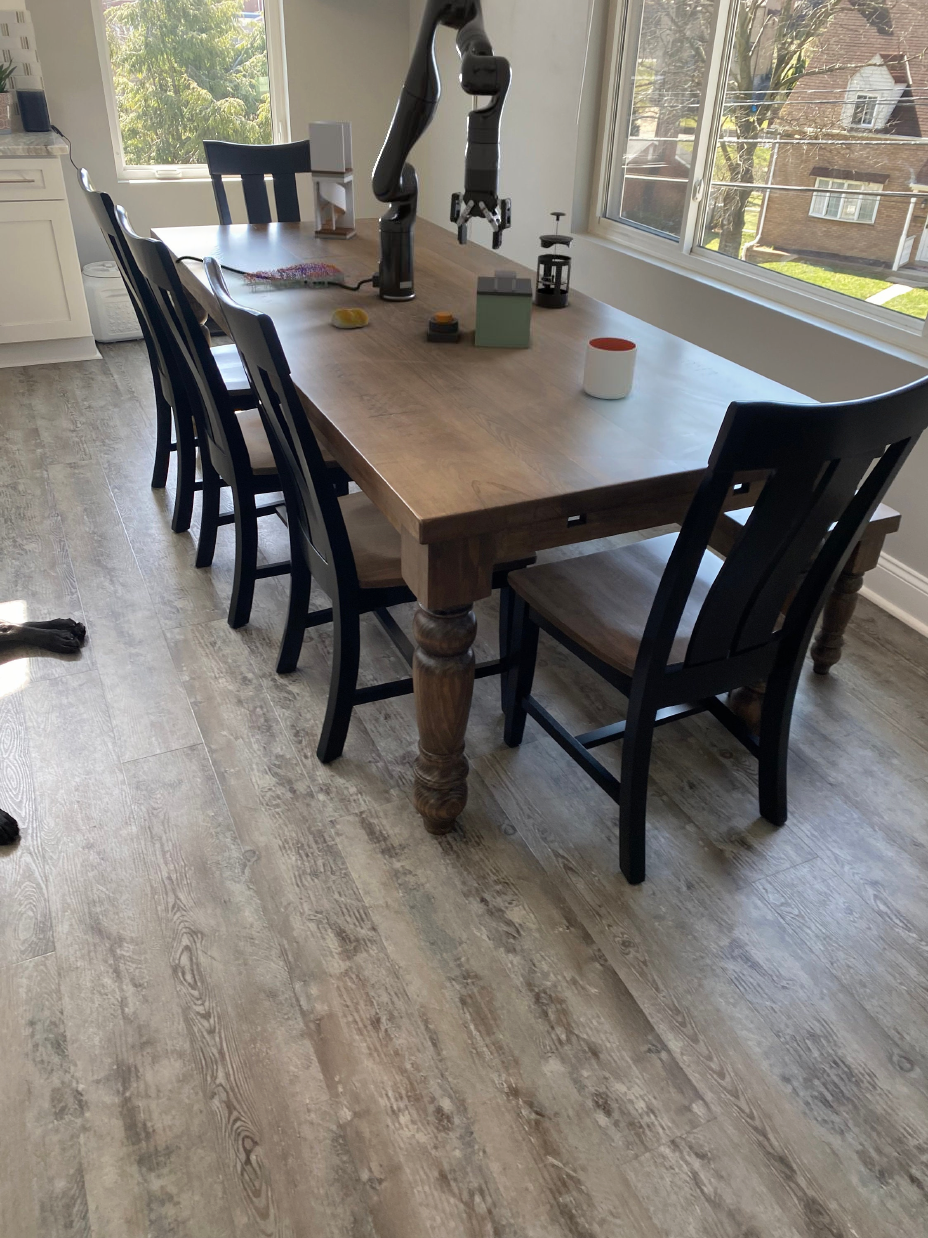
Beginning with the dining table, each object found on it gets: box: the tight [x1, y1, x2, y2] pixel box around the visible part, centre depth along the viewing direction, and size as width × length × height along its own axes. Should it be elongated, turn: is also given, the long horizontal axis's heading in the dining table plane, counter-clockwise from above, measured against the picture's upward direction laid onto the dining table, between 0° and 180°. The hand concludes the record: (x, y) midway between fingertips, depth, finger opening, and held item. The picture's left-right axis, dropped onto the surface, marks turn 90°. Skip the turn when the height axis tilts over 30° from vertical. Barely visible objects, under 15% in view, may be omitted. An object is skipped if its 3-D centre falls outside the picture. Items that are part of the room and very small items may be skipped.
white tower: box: [308, 120, 356, 240], centre depth 305 cm, size 11×11×35 cm
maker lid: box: [476, 269, 534, 298], centre depth 205 cm, size 14×13×5 cm
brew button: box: [434, 311, 453, 322], centre depth 211 cm, size 4×4×2 cm
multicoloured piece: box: [243, 262, 351, 293], centre depth 251 cm, size 30×15×5 cm, turn 115°
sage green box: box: [474, 294, 533, 349], centre depth 210 cm, size 14×13×12 cm
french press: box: [533, 211, 574, 309], centre depth 237 cm, size 12×9×23 cm
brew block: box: [427, 315, 460, 344], centre depth 212 cm, size 10×7×4 cm
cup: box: [582, 336, 638, 400], centre depth 180 cm, size 10×10×10 cm
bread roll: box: [330, 307, 370, 329], centre depth 219 cm, size 8×9×4 cm
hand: (479, 246), depth 199 cm, fingers open, 8 cm apart
